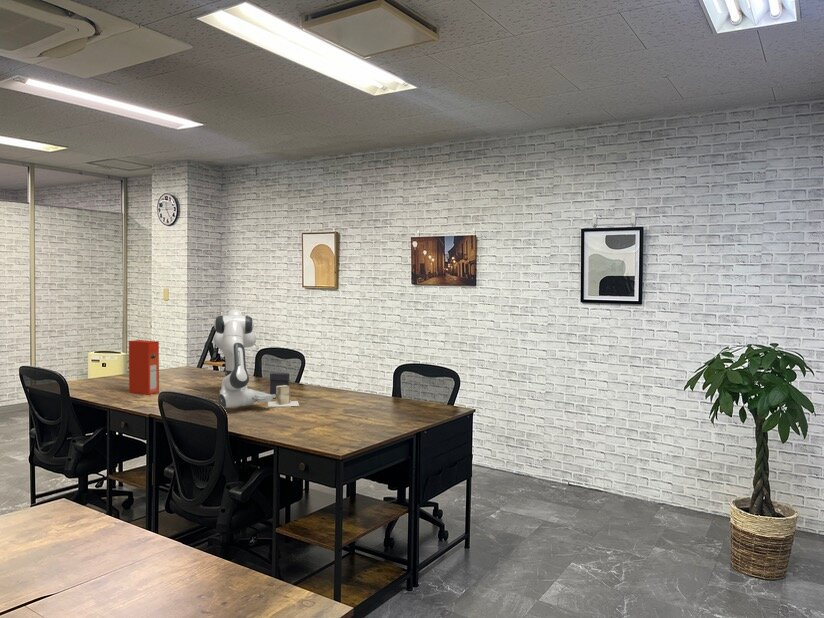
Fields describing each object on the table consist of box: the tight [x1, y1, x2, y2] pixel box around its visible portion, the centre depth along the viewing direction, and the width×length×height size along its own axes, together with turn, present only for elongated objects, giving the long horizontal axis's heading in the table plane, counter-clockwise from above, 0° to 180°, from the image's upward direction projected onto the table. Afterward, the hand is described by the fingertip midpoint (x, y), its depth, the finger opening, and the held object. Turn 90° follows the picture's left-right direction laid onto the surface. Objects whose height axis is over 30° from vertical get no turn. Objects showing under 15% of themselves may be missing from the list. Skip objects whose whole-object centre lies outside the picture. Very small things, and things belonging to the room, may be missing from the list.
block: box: [275, 385, 291, 405], centre depth 363 cm, size 5×6×10 cm
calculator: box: [269, 372, 290, 399], centre depth 382 cm, size 11×4×15 cm, turn 84°
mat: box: [267, 400, 300, 408], centre depth 364 cm, size 14×17×1 cm
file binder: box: [128, 339, 160, 396], centre depth 391 cm, size 8×17×32 cm, turn 62°
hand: (270, 394), depth 358 cm, fingers open, 8 cm apart
